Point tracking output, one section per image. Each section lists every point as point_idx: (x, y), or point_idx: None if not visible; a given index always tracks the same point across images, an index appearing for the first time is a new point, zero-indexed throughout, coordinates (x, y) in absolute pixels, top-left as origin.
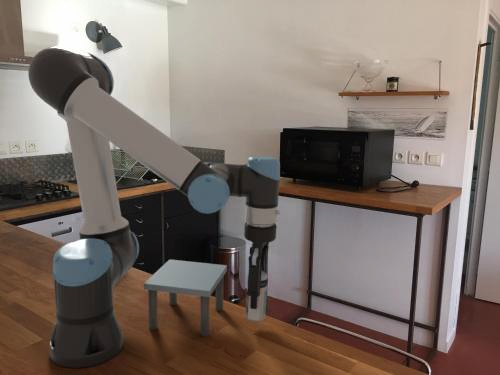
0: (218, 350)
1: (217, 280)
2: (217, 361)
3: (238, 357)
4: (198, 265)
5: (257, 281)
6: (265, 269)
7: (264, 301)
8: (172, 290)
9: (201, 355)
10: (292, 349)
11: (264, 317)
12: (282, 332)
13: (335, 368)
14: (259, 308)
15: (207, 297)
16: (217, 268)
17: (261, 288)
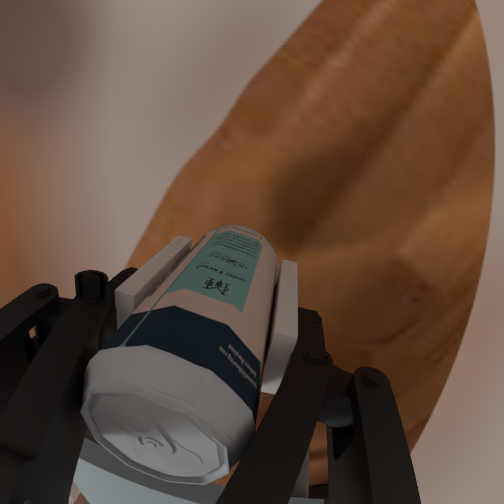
0: (381, 357)
1: (198, 498)
2: (428, 353)
3: (424, 306)
4: (100, 497)
5: (410, 478)
6: (17, 328)
7: (247, 270)
8: None
9: (394, 388)
10: (397, 120)
11: (244, 229)
12: (276, 141)
13: (474, 23)
14: (297, 291)
15: (305, 494)
16: (92, 474)
17: (254, 352)
